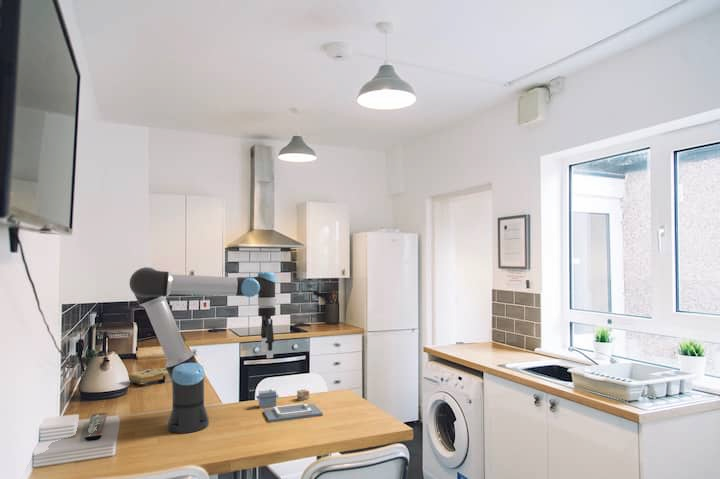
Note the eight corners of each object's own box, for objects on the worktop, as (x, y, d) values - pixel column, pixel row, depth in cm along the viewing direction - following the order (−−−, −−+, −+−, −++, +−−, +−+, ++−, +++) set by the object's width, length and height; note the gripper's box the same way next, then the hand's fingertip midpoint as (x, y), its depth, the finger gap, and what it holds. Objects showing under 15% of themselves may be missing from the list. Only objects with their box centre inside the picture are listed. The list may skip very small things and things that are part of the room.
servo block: (257, 408, 214) (257, 391, 214) (256, 406, 217) (256, 389, 218) (278, 406, 217) (278, 389, 217) (277, 404, 220) (276, 387, 221)
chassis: (268, 422, 195) (268, 416, 195) (263, 412, 208) (263, 406, 209) (322, 415, 203) (322, 410, 203) (314, 406, 216) (313, 401, 216)
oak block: (301, 401, 224) (301, 392, 224) (297, 399, 227) (297, 390, 227) (309, 400, 226) (309, 391, 226) (305, 398, 229) (304, 389, 229)
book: (171, 375, 281) (171, 364, 281) (186, 379, 270) (186, 368, 270) (126, 383, 263) (126, 372, 263) (140, 388, 251) (140, 377, 252)
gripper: (280, 308, 208) (281, 359, 207) (270, 304, 232) (271, 349, 231) (262, 309, 206) (263, 361, 205) (254, 304, 229) (254, 350, 228)
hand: (267, 355), depth 218 cm, fingers open, 13 cm apart
